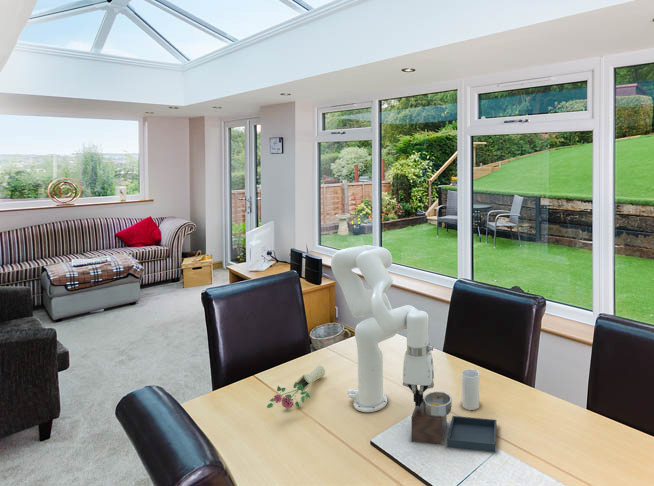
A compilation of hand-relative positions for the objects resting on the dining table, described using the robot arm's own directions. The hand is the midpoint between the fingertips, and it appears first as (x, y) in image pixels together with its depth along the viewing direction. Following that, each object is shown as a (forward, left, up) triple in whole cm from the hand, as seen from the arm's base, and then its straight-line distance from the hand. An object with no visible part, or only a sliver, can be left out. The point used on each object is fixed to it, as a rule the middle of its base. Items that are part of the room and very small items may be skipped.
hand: (418, 404), depth 144 cm
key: (+6, +1, -1) cm, 7 cm away
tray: (+18, 0, -9) cm, 20 cm away
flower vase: (-49, +13, -9) cm, 51 cm away
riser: (+4, 0, -9) cm, 10 cm away
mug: (+16, +20, -9) cm, 28 cm away
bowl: (+6, 0, -1) cm, 7 cm away
